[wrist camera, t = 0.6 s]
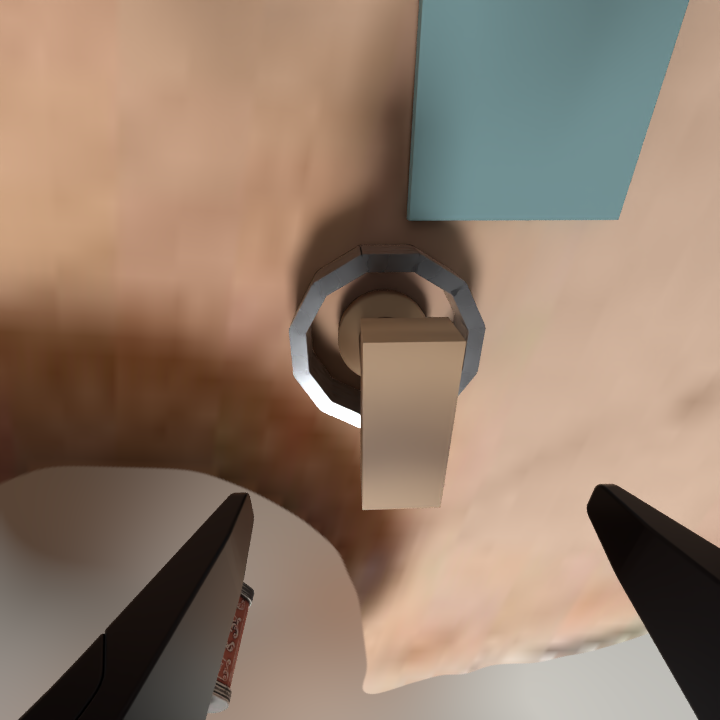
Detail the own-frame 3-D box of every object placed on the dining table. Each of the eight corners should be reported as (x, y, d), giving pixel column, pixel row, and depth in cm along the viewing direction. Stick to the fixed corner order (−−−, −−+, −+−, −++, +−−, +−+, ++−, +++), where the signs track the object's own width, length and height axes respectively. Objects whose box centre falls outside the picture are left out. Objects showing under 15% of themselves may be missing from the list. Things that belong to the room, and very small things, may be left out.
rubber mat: (699, -80, 12) (720, -96, 12) (606, 218, 17) (618, 219, 16) (424, -87, 12) (429, -103, 11) (406, 218, 17) (409, 220, 16)
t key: (336, 270, 18) (327, 343, 10) (432, 270, 18) (500, 341, 10) (340, 385, 21) (336, 510, 13) (421, 384, 21) (466, 506, 13)
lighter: (161, 568, 29) (78, 741, 20) (185, 550, 28) (109, 723, 19) (238, 605, 32) (196, 770, 23) (262, 590, 31) (228, 756, 22)
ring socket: (479, 244, 17) (499, 253, 15) (455, 401, 22) (467, 426, 20) (289, 245, 17) (280, 254, 15) (304, 404, 22) (299, 429, 19)
